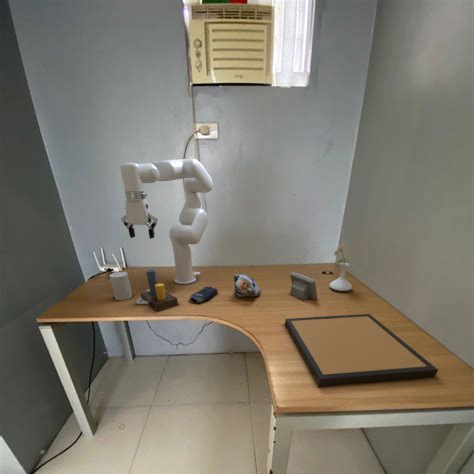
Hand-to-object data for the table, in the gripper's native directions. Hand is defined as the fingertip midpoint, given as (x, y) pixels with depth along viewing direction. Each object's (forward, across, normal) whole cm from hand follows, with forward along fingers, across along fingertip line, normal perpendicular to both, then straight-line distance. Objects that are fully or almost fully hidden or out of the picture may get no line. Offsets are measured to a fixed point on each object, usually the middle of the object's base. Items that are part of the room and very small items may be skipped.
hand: (142, 237), depth 116 cm
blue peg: (+30, -3, +3) cm, 30 cm away
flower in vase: (+29, -94, -28) cm, 102 cm away
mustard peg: (+30, -9, +8) cm, 32 cm away
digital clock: (+29, -75, -16) cm, 82 cm away
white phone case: (+28, 0, +2) cm, 28 cm away
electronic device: (+30, -26, -4) cm, 39 cm away
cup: (+30, +15, +3) cm, 33 cm away
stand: (+30, -6, +5) cm, 31 cm away
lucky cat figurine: (+29, -47, -11) cm, 57 cm away
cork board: (+30, -90, +28) cm, 98 cm away
